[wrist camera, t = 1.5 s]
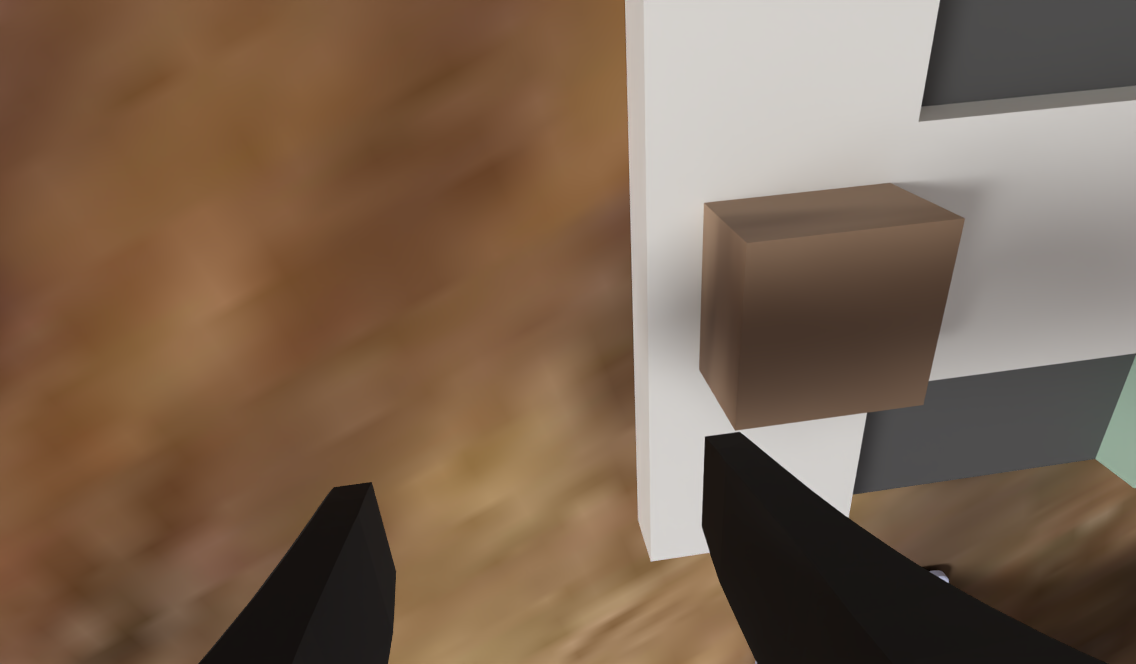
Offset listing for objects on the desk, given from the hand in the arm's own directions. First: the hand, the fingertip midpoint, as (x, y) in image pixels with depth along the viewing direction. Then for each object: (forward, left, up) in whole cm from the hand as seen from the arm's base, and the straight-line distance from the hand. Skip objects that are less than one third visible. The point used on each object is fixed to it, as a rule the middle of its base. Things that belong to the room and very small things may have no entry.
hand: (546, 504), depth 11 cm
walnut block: (0, -8, -7) cm, 11 cm away
